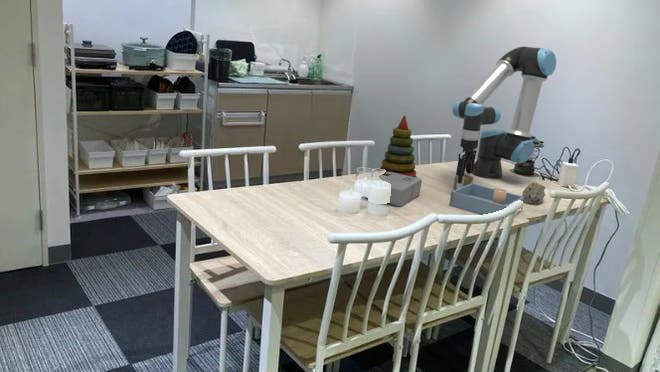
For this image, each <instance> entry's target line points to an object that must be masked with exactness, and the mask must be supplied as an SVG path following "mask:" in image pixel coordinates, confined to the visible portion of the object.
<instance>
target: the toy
mask: <svg viewBox="0 0 660 372" xmlns="http://www.w3.org/2000/svg"><path fill="white" fill-rule="evenodd" d="M411 135H412V129H411V128H409V126H408V122H407V118H406V115H403V116H402V118H401V121H400V122H399V124H398V126H397V127H394V128H393V129H392V136H390V139H389V143H388V145H387V151H385V153H384V157H385V158H384V159H383V160H382V161H381V166H380V168H379V170H380V169H385V170H386V172H393V173H398V174H402V175H406V176H411V177H415V178H419V177H417V171H416V170H415V169H416V164H415V162H414V161H415V159H416V158H415V155H414V154H413V153H414V151H415V148H414V146H412V145H413V142H414V140H413V137H411ZM386 172H385V173H386Z"/></svg>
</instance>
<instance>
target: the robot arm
mask: <svg viewBox="0 0 660 372" xmlns="http://www.w3.org/2000/svg"><path fill="white" fill-rule="evenodd" d="M556 67H557V57H556V54H555V53H554V51H553V50H551V49H548V48H544V47H530V46H517V47H516V48H513V49H511V50H509V51H508V52H506V53H505V54H504V55H503V56H502V57H501V58H499V59H498V61H497V62H496V66H495V67H494V68H493V69H492V70H491V71H490V72H489V73H488V74H487V75H486V77H484V79H483V80H482V81H481V82H480V83H479V84H478V85H477V86H476V87H475V88H474V90H472V92H471V93H470V94H469V95H468V96H467V97H466V98H465V99H464V100H463V101H462V100H461V101H459V100H458V101H456V102H455V103H454V104H453V105H452V111H451V112H452V114H453V116H454V117H456V118H458V119H461V120H462V119H463V125H462V129H461V139H460V145H459V147H461V148H462V151H461V153H458V159H457V167H456V172H455V176H458V181H457V188H456V189H455V190H457V189H459V188H461V187H463V183H464V175H468V176H471V175H472V174H473V175H475V176H477V177H481V178H487V179H500V178H502V177H503V167H502V159H504V160H507V161H510V162H512V163H518V164H522V163H526V162H527V161H528V160H529V159H530V158H531V156H532V154H533V153H534V148H535V146H534V142H533V141H532V135H531V134H530V129H531V126H532V124H533V123H532V122H533V119H534V116H535V112H536V108H537V105H538V101H539V96H540V92H541V89H542V86H543V84H544V82H545V81H547V79H548V76H552V75H553V73H554V72H555V71H556ZM517 72H521V74H520V76H521V77H522V79H523V81H522V84H521V88H520V92H519V96H518V100H517V102H516V103H517V104H516V108H515V112H514V115H513V119H512V123H511V128H510V129H509V130H507V131H506V130H503V129H485V130H482V132H481V127H482V126H484V125H485V126H486V125H494V124H496V123H497V124H498V122H500V120H501V117H502V116H501V115H502V113H501V111H500V109H499V108H498V107H494V106H489V107H487V106H484V105H483V104H484V103H485V102H486V101H487V100H488V99H489V98H490V97H491V95H493V93H495V92H496V90H497V89H498V88H499V87H500V86H501V85H502V84H503V83H504V81H506V79H507V78H508V77H511V76H513V75H514V74H515V73H517ZM480 133H481V135H480ZM479 139H480V140H479ZM477 148H478V151H477V150H476V149H477ZM476 155H477V158H476Z"/></svg>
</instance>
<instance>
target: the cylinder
mask: <svg viewBox="0 0 660 372" xmlns="http://www.w3.org/2000/svg"><path fill="white" fill-rule="evenodd" d="M493 189H494V194H493V199H492V202H493V203H496V204H500V205H505V199H506V194H507V192H508V191H507V190H506V189H503V188H493Z"/></svg>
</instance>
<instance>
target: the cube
mask: <svg viewBox="0 0 660 372" xmlns="http://www.w3.org/2000/svg"><path fill="white" fill-rule="evenodd" d="M473 180H474V176H468V175H465V174H464V183H463V187H464V186H466V185H469V184H471V183H474V181H473ZM457 181H458V176H457V175H455V177H454V181H453V189H454V190H457V189H456V188H457Z"/></svg>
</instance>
